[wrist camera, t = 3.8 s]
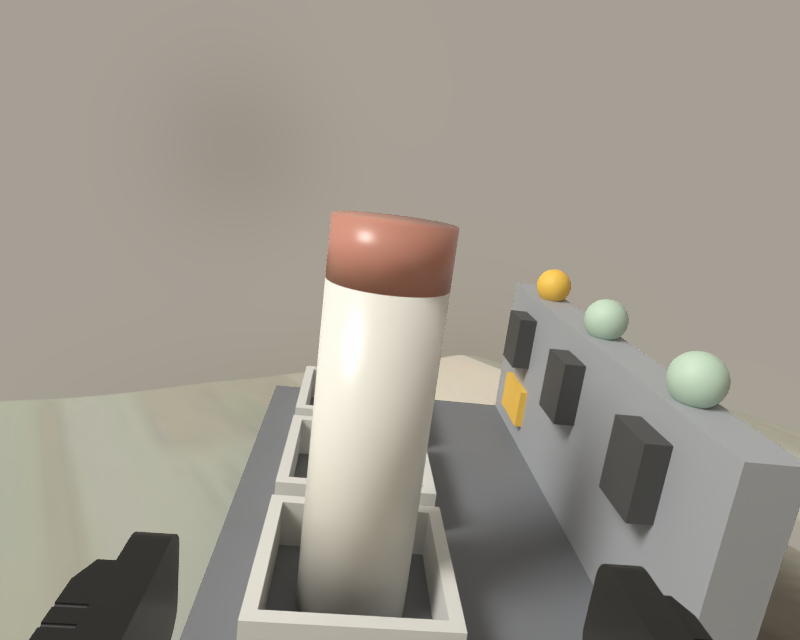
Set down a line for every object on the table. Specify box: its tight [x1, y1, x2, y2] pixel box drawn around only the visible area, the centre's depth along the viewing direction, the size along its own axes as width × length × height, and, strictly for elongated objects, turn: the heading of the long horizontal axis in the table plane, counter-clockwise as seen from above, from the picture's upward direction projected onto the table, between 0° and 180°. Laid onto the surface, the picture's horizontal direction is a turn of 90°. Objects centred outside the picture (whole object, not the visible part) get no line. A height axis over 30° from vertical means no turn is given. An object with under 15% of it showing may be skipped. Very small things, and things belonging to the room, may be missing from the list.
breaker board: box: [180, 270, 800, 640], centre depth 29 cm, size 25×18×12 cm
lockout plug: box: [295, 211, 459, 618], centre depth 20 cm, size 4×4×14 cm
